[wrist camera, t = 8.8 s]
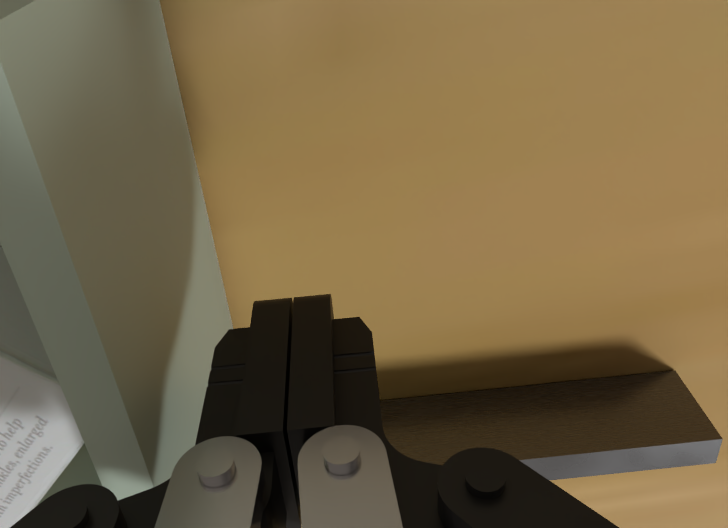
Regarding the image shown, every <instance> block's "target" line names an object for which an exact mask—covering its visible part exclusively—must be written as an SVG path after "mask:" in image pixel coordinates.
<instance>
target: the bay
mask: <svg viewBox="0 0 728 528" xmlns="http://www.w3.org/2000/svg"><path fill="white" fill-rule="evenodd" d="M380 408H381V417H382V425H383V430H384V434H385V436H386V438H387V440H388V441H389V443H390V444H391V445H392V446H393V447H394V448H395V449H396V450H397V451H399V452H400V453H402V454H403V455H405V456H407V457H409V458H412V459H415V460H418V461H422V462H427V463H432V464H438V465H443V464H444V463H445V462H446V461H447V460H448V459H449V458H450V457H452V456H453V455H454V454H456V453H458V452H460V451H463V450H466V449H470V448H493V449H497V450H501V451H503V452H506V453H508V454H510V455H512V456H513V457H515V458H517V459H518V460H519V461H521V462H522V463H524V464H525V465H527V466H528V467H530V468H531V469H533V470H534V471H536V472H537V473H539V474H540V475H542V476H543V477H545V478H546V479H548V480H557V479H567V478H576V477H586V476H595V475H605V474H614V473H624V472H633V471H643V470H652V469H662V468H671V467H681V466H690V465H700V464H710V463H716V460H717V457H718V453H719V450H720V446H721V443H722V437H721V436H720V435H719V433H718V432H717V430H716V429H715V427H714V426H713V424H712V423H711V422H710V420H709V419H708V417H707V416H706V414H705V413H704V411H703V410H702V409H701V407H700V406H699V404H698V403H697V401H696V400H695V398H694V397H693V396H692V394H691V393H690V391H689V390H688V388H687V387H686V385H685V384H684V383H683V381H682V380H681V378H680V377H679V375H678V374H677V373H676V371H665V372H656V373H646V374H636V375H627V376H617V377H607V378H597V379H588V380H578V381H568V382H558V383H549V384H539V385H529V386H520V387H510V388H500V389H490V390H481V391H471V392H461V393H452V394H442V395H432V396H422V397H413V398H403V399H393V400H383V401H380Z"/></svg>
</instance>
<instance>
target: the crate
mask: <svg viewBox="0 0 728 528" xmlns="http://www.w3.org/2000/svg"><path fill="white" fill-rule="evenodd" d="M0 243H1V246H2V248H3V251H4V253H5V255H6V258H7V260H8V263H9V265H10V267H11V270H12V272H13V274H14V277H15V279H16V282H17V284H18V286H19V289H20V291H21V293H22V296H23V298H24V301H25V303H26V305H27V308H28V310H29V312H30V315H31V317H32V320H33V322H34V324H35V327H36V329H37V332H38V334H39V336H40V339H41V341H42V343H43V346H44V348H45V351H46V353H47V355H48V358H49V360H50V362H51V365H52V367H53V370H54V372H55V374H56V377H57V379H58V382H59V384H60V386H61V389H62V391H63V393H64V396H65V398H66V401H67V403H68V405H69V408H70V410H71V412H72V415H73V417H74V420H75V422H76V424H77V427H78V429H79V432H80V434H81V436H82V439H83V441H84V444H83V446H82V447H81V448H80V450H79V451H78V453H77V454H76V455H75V457H74V458H73V459H72V460H71V462H70V463H69V464H68V466H67V467H66V468H65V469H64V471H63V472H62V473H61V475H60V476H59V477H58V478H57V480H56V481H55V482H54V484H53V485H52V486H51V487H50V489H49V490H48V491H47V493H46V494H45V495H44V497H43V498H42V499H41V500H40V502H39V503H38V504H37V506H38V505H39V504H40V503H41V502H43V501H44V500H45V499H47V498H48V497H50V496H51V495H53V494H55V493H57V492H59V491H61V490H63V489H66V488H69V487H72V486H76V485H81V484H96V485H100V486H104V487H106V488H107V489H109V490H110V491H111V492H113V493H114V495H115V496H116V498H117V500H121V499H123V498H126V497H129V496H132V495H134V494H137V493H140V492H143V491H145V490H148V489H151V488H153V487H155V486H158V485H160V484H161V483H163V482H165V481H167V480H168V479H170V478H171V475H172V472H173V469H174V467H175V465H176V463H177V462H178V460H179V459H180V458H181V457H182V456H183V454H184V453H186V452H187V451H188V450H189V449H191V448H192V447H194V446H195V443H196V438H197V433H198V428H199V423H200V418H201V413H202V408H203V404H204V399H205V394H206V389H207V387H208V379H209V374H210V371H211V364H212V359H213V354H214V349H215V347H216V345H217V344H218V343H219V341H220V340H221V339H222V338H223V336H224V335H225V334H226V333H227V331H228V330H229V329H233V325H232V321H231V316H230V312H229V307H228V303H227V298H226V294H225V289H224V285H223V281H222V276H221V272H220V267H219V263H218V258H217V254H216V250H215V245H214V241H213V236H212V232H211V227H210V223H209V218H208V214H207V210H206V205H205V201H204V196H203V192H202V187H201V183H200V178H199V174H198V170H197V165H196V161H195V156H194V152H193V147H192V143H191V139H190V134H189V130H188V125H187V121H186V116H185V112H184V107H183V103H182V99H181V94H180V90H179V85H178V81H177V76H176V72H175V67H174V63H173V59H172V54H171V50H170V45H169V41H168V36H167V32H166V28H165V23H164V19H163V14H162V10H161V5H160V1H159V0H0Z"/></svg>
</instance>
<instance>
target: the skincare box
mask: <svg viewBox="0 0 728 528" xmlns="http://www.w3.org/2000/svg"><path fill="white" fill-rule="evenodd" d="M83 444H84V441H83V439H82V436H81V434H80V432H79V429H78V427H77V424H76V422H75V420H74V417H73V415H72V412H71V410H70V408H69V405H68V403H67V401H66V398H65V396H64V393H63V391H62V389H61V386H60V384H59V382H58V379H57V377H56V374H55V372H54V370H53V367H52V365H51V362H50V360H49V358H48V355H47V353H46V351H45V348H44V346H43V343H42V341H41V339H40V336H39V334H38V332H37V329H36V327H35V324H34V322H33V320H32V317H31V315H30V312H29V310H28V308H27V305H26V303H25V301H24V298H23V296H22V293H21V291H20V289H19V286H18V284H17V282H16V279H15V277H14V274H13V272H12V270H11V267H10V265H9V263H8V260H7V258H6V255H5V253H4V251H3V248H2V246H1V243H0V528H10V527H11V526H12V525H14V524H15V523H16V522H17V521H19V520H20V519H21V518H22V517H24V516H25V515H26V514H27V513H29V512H30V511H31V510H32V509H34V508H35V507H36V506H37V504H38V503H39V502H40V500H41V499H42V498H43V497H44V495H45V494H46V493H47V491H48V490H49V489H50V487H51V486H52V485H53V484H54V482H55V481H56V480H57V478H58V477H59V476H60V475H61V473H62V472H63V471H64V469H65V468H66V467H67V466H68V464H69V463H70V462H71V460H72V459H73V458H74V457H75V455H76V454H77V453H78V451H79V450H80V448H81V447H82V446H83Z"/></svg>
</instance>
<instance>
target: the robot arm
mask: <svg viewBox="0 0 728 528" xmlns="http://www.w3.org/2000/svg"><path fill="white" fill-rule="evenodd" d="M301 524H302V528H619V527H617V526H616V525H614V524H613V523H611V522H610V521H608V520H607V519H605V518H604V517H602V516H601V515H600V514H598V513H597V512H595V511H594V510H592V509H591V508H589V507H588V506H586V505H585V504H583V503H582V502H580V501H579V500H577V499H576V498H574V497H573V496H571V495H570V494H568V493H567V492H565V491H564V490H562V489H561V488H559V487H558V486H557V485H555V484H554V483H552V482H551V481H549V480H548V479H546V478H545V477H543V476H542V475H540V474H539V473H537V472H536V471H534V470H533V469H531V468H530V467H528V466H527V465H525V464H524V463H522V462H521V461H519V460H518V459H517V458H515V457H513V456H512V455H510V454H508V453H506V452H503V451H501V450H497V449H493V448H470V449H466V450H463V451H460V452H458V453H456V454H454V455H453V456H452V457H450V458H449V459H448V460H447V461H446V462H445V463H444V464H443V465H438V464H432V463H427V462H422V461H418V460H415V459H412V458H409V457H407V456H405V455H403V454H402V453H400V452H399V451H397V450H396V449H395V448H394V447H393V446H392V445H391V444H390V443H389V441H388V440H387V438H386V436H385V434H384V430H383V425H382V417H381V408H380V399H379V391H378V382H377V373H376V364H375V356H374V347H373V338H372V332H371V331H370V330H369V328H368V327H367V326H366V325H365V323H364V322H363V321H362V320H361V319H360V317H353V318H342V319H334V316H333V307H332V299H331V294H326V295H315V296H304V297H294V300H293V301H292V298H285V299H274V300H263V301H254V304H253V310H252V317H251V324H250V327H248V328H238V329H229V330H228V331H227V333H226V334H225V335H224V336H223V338H222V339H221V340H220V341H219V343H218V344H217V345H216V347H215V349H214V354H213V359H212V364H211V371H210V374H209V379H208V387H207V389H206V394H205V399H204V404H203V408H202V413H201V418H200V423H199V428H198V433H197V438H196V443H195V446H194V447H192V448H191V449H189V450H188V451H187V452H186V453H184V454H183V456H182V457H181V458H180V459H179V460H178V462H177V463H176V465H175V467H174V469H173V472H172V475H171V478H170V479H168V480H167V481H165V482H163V483H161V484H160V485H158V486H155V487H153V488H151V489H148V490H145V491H143V492H140V493H137V494H134V495H132V496H129V497H126V498H123V499H121V500H117V498H116V496H115V495H114V493H113V492H111V491H110V490H109V489H107V488H106V487H104V486H100V485H96V484H81V485H76V486H72V487H69V488H66V489H63V490H61V491H59V492H57V493H55V494H53V495H51V496H50V497H48V498H47V499H45V500H44V501H43V502H41V503H40V504H39V505H38V506H36V507H35V508H34V509H32V510H31V511H30V512H29V513H27V514H26V515H25V516H24V517H22V518H21V519H20V520H19V521H17V522H16V523H15V524H14V525H12V526H11V527H10V528H301Z"/></svg>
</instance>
